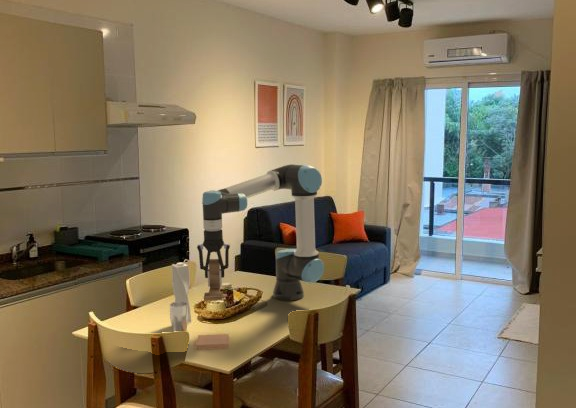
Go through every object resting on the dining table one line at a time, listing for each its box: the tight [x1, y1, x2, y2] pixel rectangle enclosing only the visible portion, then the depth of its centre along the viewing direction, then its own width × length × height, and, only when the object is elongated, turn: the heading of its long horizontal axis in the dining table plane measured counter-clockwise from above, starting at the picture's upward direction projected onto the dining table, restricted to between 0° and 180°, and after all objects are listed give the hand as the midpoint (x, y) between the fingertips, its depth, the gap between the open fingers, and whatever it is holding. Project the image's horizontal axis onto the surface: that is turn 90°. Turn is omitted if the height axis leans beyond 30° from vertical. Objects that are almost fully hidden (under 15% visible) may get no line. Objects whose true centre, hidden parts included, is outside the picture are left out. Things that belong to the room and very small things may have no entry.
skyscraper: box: [171, 258, 192, 326], centre depth 237 cm, size 8×8×28 cm
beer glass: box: [169, 301, 188, 332], centre depth 219 cm, size 7×7×15 cm
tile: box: [195, 333, 230, 350], centre depth 217 cm, size 12×2×10 cm
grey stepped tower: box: [203, 258, 224, 301], centre depth 224 cm, size 16×7×12 cm, turn 4°
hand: (215, 285), depth 230 cm, fingers closed on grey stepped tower, 4 cm apart
